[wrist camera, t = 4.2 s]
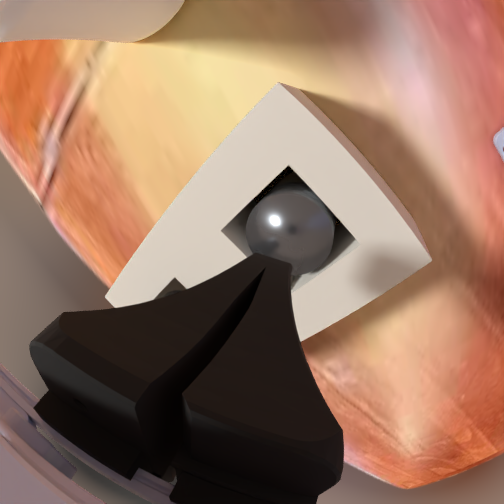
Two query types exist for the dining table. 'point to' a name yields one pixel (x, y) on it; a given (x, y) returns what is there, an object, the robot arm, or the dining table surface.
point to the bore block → (241, 204)
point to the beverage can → (84, 19)
